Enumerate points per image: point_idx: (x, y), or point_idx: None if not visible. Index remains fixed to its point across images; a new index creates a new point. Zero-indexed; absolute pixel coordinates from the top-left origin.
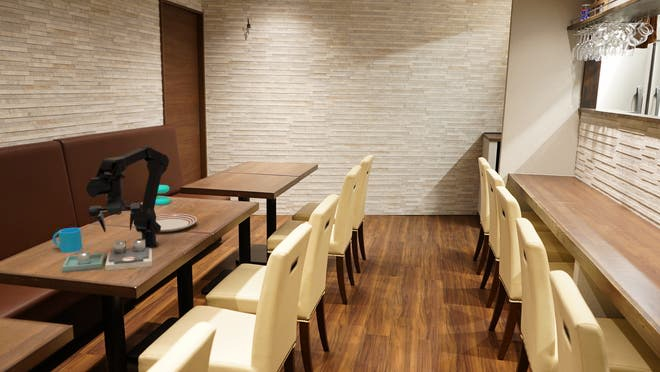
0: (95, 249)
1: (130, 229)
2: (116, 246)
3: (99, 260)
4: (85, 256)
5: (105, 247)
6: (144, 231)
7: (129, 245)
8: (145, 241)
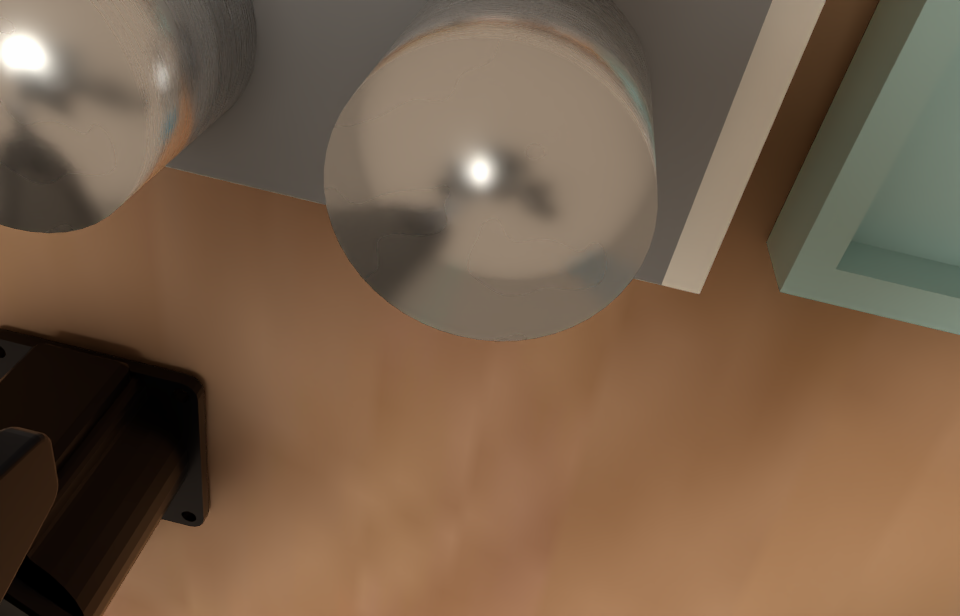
0: (745, 608)
1: (12, 438)
2: (605, 60)
3: (946, 68)
4: None
5: (619, 610)
6: (14, 594)
7: (348, 543)
8: (86, 424)
